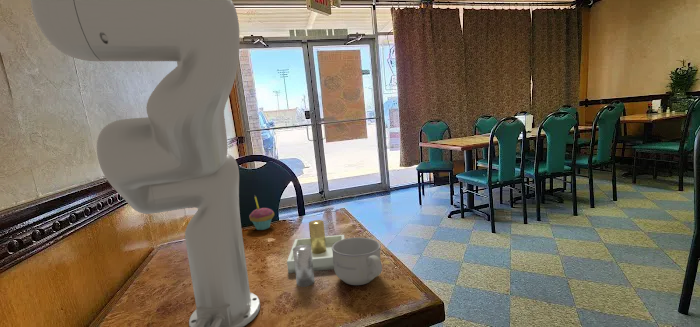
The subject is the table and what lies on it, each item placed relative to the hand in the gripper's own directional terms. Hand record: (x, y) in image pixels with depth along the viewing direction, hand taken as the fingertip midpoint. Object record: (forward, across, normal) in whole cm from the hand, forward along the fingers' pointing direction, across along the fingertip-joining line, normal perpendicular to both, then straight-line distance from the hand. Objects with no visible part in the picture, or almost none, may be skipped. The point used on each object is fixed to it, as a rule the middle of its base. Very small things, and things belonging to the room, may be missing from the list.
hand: (209, 160), depth 74 cm
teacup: (+29, -12, -35) cm, 46 cm away
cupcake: (+28, +30, -2) cm, 41 cm away
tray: (+28, +2, -24) cm, 37 cm away
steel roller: (+28, -10, -22) cm, 37 cm away
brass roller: (+28, +4, -24) cm, 37 cm away
